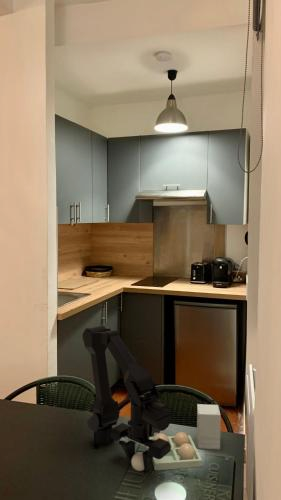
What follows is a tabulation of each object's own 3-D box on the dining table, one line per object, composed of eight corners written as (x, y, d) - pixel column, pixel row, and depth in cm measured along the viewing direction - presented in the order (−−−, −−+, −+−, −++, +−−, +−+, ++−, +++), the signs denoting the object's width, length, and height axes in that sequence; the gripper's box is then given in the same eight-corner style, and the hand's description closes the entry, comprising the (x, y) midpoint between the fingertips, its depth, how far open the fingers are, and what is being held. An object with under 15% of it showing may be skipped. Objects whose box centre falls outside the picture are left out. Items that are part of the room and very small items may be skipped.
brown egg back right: (175, 452, 128) (175, 437, 127) (172, 444, 133) (172, 429, 132) (190, 451, 128) (191, 436, 128) (187, 443, 133) (187, 428, 133)
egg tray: (154, 473, 119) (154, 463, 119) (147, 446, 133) (147, 437, 133) (201, 469, 121) (202, 460, 120) (189, 443, 135) (189, 435, 135)
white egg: (132, 475, 117) (132, 459, 117) (130, 465, 122) (130, 449, 122) (149, 474, 118) (149, 457, 117) (146, 464, 123) (146, 448, 122)
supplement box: (218, 440, 137) (218, 404, 136) (220, 452, 130) (221, 414, 129) (196, 438, 138) (197, 403, 137) (197, 451, 131) (197, 413, 130)
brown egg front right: (180, 465, 121) (180, 449, 121) (176, 456, 126) (177, 440, 126) (196, 464, 122) (196, 448, 121) (192, 454, 127) (192, 439, 126)
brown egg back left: (154, 454, 127) (154, 439, 127) (152, 445, 132) (152, 430, 132) (170, 453, 128) (170, 437, 127) (166, 444, 133) (167, 429, 132)
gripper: (181, 416, 119) (180, 466, 121) (132, 398, 131) (132, 444, 132) (160, 431, 111) (159, 485, 112) (109, 411, 122) (109, 460, 123)
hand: (139, 467), depth 120 cm, fingers closed on white egg, 5 cm apart
